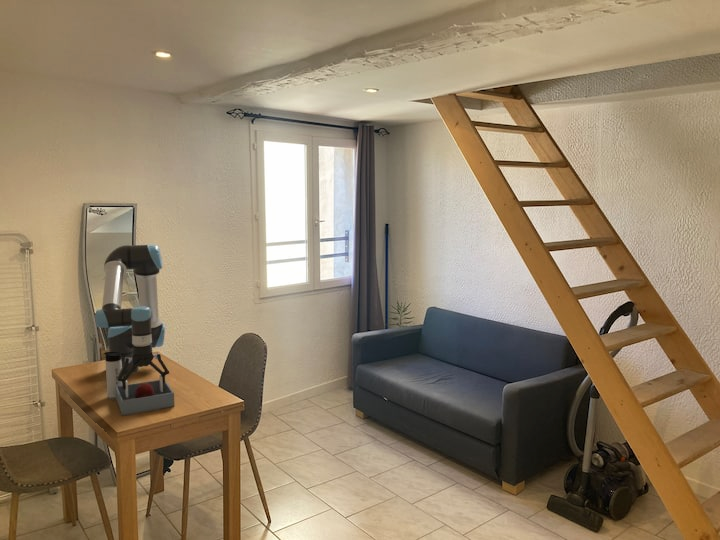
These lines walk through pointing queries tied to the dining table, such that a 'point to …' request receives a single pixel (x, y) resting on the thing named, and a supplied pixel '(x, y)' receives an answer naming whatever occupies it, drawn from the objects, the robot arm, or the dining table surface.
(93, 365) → the dining table surface
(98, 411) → the dining table surface
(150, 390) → the apple
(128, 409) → the tub
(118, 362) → the travel mug
